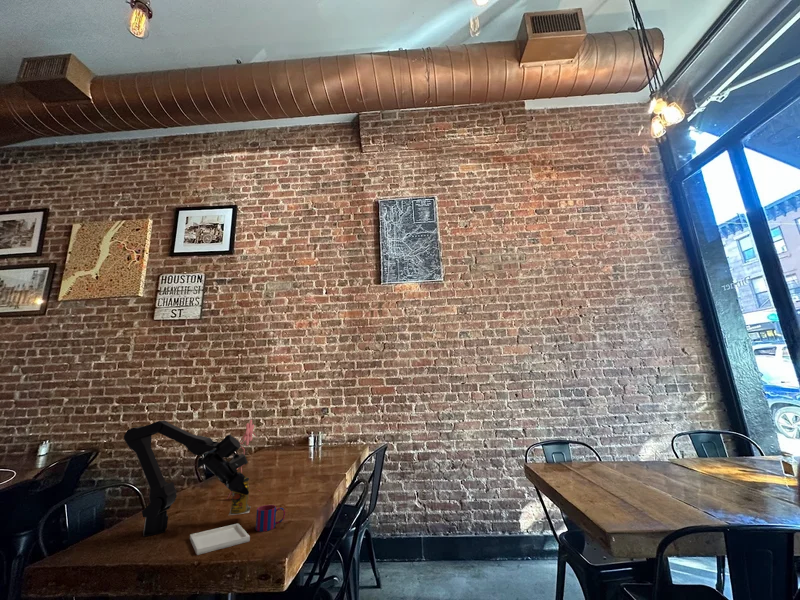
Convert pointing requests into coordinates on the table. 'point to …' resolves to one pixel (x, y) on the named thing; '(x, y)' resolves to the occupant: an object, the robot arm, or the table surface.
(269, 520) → the mug
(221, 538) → the tray
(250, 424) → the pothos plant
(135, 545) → the table surface
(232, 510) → the condiment
